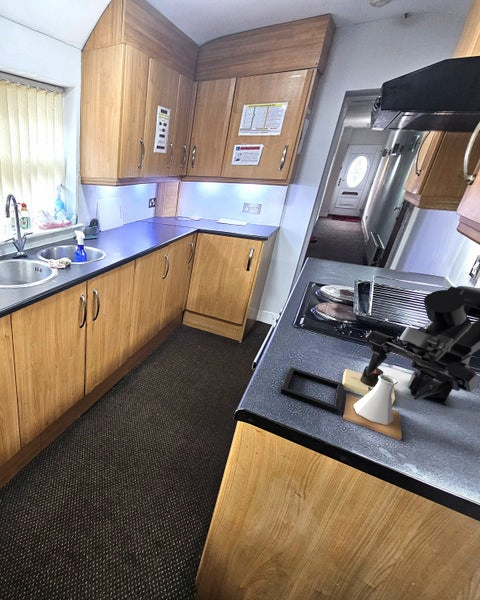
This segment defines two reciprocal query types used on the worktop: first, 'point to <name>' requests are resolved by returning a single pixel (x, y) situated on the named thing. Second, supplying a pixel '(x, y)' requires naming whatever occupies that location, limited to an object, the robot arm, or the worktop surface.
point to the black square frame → (311, 400)
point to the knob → (371, 377)
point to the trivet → (390, 429)
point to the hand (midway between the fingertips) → (389, 386)
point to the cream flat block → (357, 384)
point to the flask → (378, 401)
